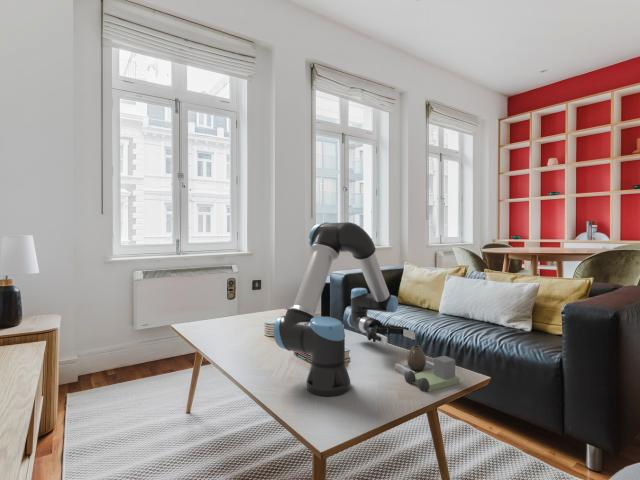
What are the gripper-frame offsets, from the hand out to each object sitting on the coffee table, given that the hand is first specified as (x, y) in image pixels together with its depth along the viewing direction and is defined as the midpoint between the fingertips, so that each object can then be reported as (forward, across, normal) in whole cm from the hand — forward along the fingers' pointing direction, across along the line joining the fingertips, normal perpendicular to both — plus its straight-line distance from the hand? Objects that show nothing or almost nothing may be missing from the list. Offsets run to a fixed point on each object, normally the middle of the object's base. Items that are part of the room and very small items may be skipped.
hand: (400, 338), depth 154 cm
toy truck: (+20, +2, -10) cm, 22 cm away
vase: (+10, 0, -9) cm, 13 cm away
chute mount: (+10, 0, -10) cm, 14 cm away
